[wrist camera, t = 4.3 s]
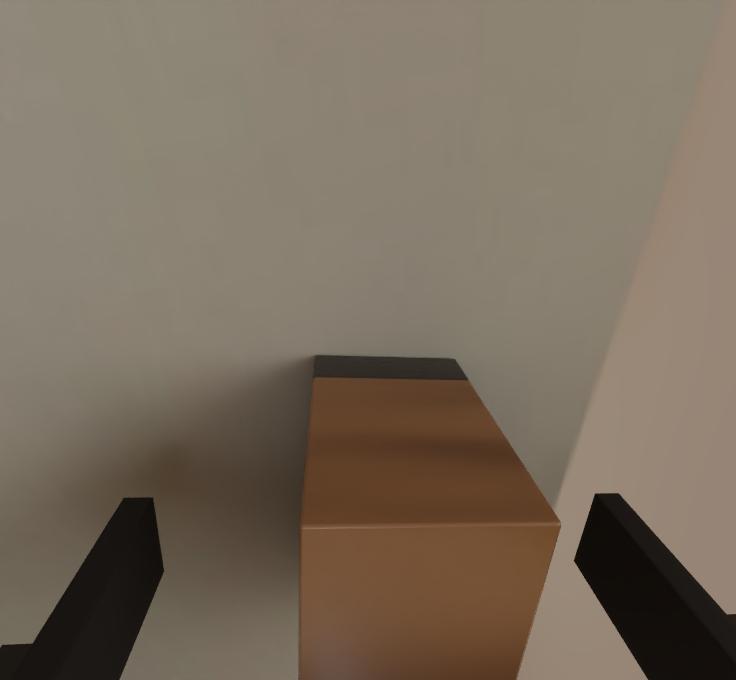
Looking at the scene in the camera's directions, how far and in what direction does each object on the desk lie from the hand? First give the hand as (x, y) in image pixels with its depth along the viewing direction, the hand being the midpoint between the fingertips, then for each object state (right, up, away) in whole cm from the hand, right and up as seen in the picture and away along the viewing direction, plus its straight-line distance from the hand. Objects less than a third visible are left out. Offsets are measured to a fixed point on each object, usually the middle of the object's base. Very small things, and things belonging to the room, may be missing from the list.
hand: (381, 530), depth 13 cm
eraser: (0, +1, +2) cm, 3 cm away
